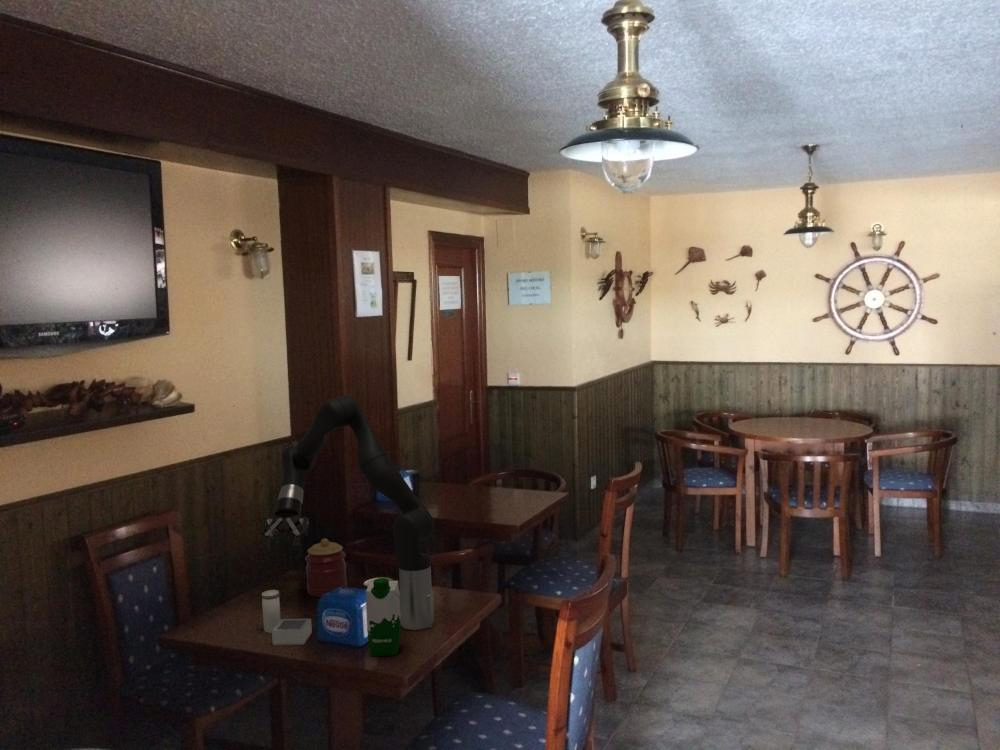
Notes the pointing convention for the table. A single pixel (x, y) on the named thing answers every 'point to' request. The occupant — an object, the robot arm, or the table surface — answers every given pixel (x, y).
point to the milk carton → (383, 617)
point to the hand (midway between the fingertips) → (280, 548)
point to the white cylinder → (270, 609)
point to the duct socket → (291, 632)
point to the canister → (325, 568)
